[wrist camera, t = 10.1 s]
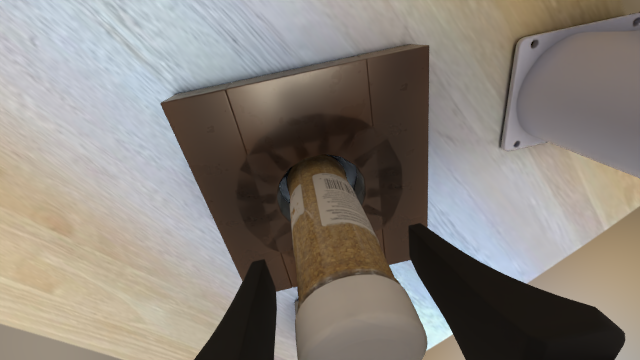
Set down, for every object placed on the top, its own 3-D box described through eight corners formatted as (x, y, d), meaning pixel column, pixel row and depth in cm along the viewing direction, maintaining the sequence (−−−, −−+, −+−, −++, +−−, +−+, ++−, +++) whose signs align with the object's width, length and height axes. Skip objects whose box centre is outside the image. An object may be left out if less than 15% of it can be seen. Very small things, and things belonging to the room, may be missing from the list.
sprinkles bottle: (274, 179, 20) (267, 376, 9) (320, 139, 19) (383, 299, 8) (314, 214, 22) (354, 414, 11) (358, 179, 21) (455, 357, 10)
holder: (410, 43, 17) (429, 45, 15) (414, 236, 25) (427, 256, 23) (174, 94, 17) (159, 103, 15) (252, 274, 25) (249, 298, 22)
